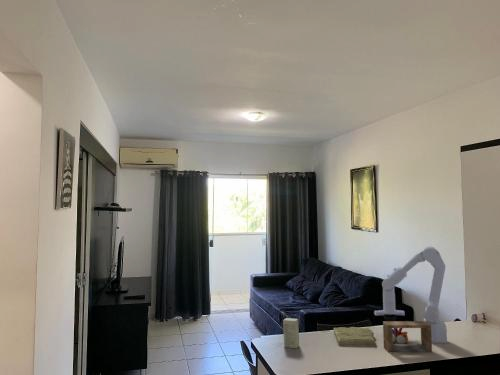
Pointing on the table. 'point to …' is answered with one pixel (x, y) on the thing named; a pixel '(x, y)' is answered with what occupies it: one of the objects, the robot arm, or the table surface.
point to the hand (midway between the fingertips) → (390, 329)
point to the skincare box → (291, 332)
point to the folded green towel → (354, 336)
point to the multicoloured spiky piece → (399, 336)
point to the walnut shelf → (407, 348)
